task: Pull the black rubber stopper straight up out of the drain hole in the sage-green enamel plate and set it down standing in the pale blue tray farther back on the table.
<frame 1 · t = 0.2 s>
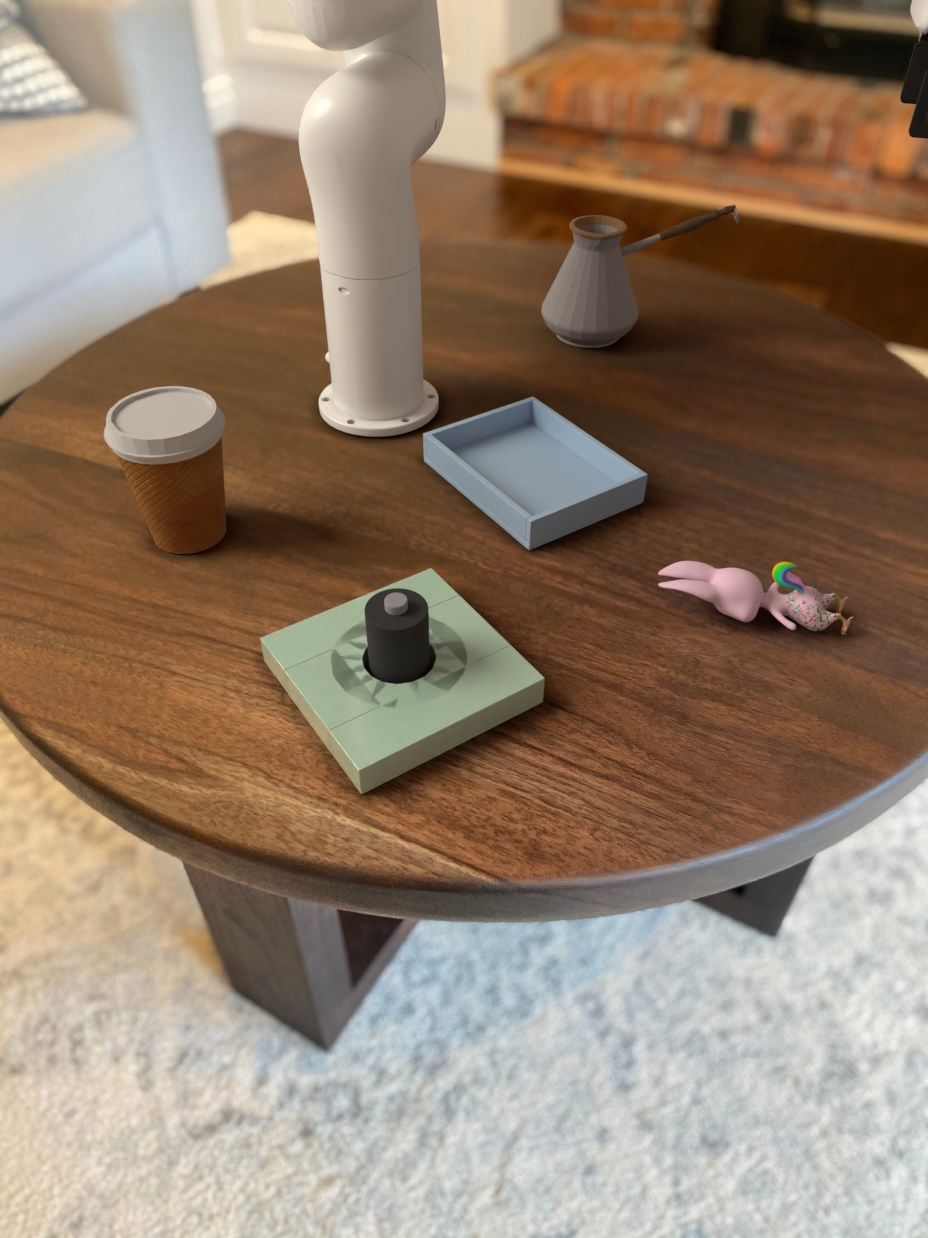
hand: (925, 119, 70), 31 cm above the table, tool pointing down, fingers open, 9 cm apart
plug: (398, 642, 67), in the hole of the drain plate
rabbit figure: (747, 616, 75), on the table
tray: (530, 481, 89), on the table
disposable coffee cup: (190, 534, 83), on the table
drain plate: (400, 681, 69), on the table
coffee pot: (628, 335, 113), on the table
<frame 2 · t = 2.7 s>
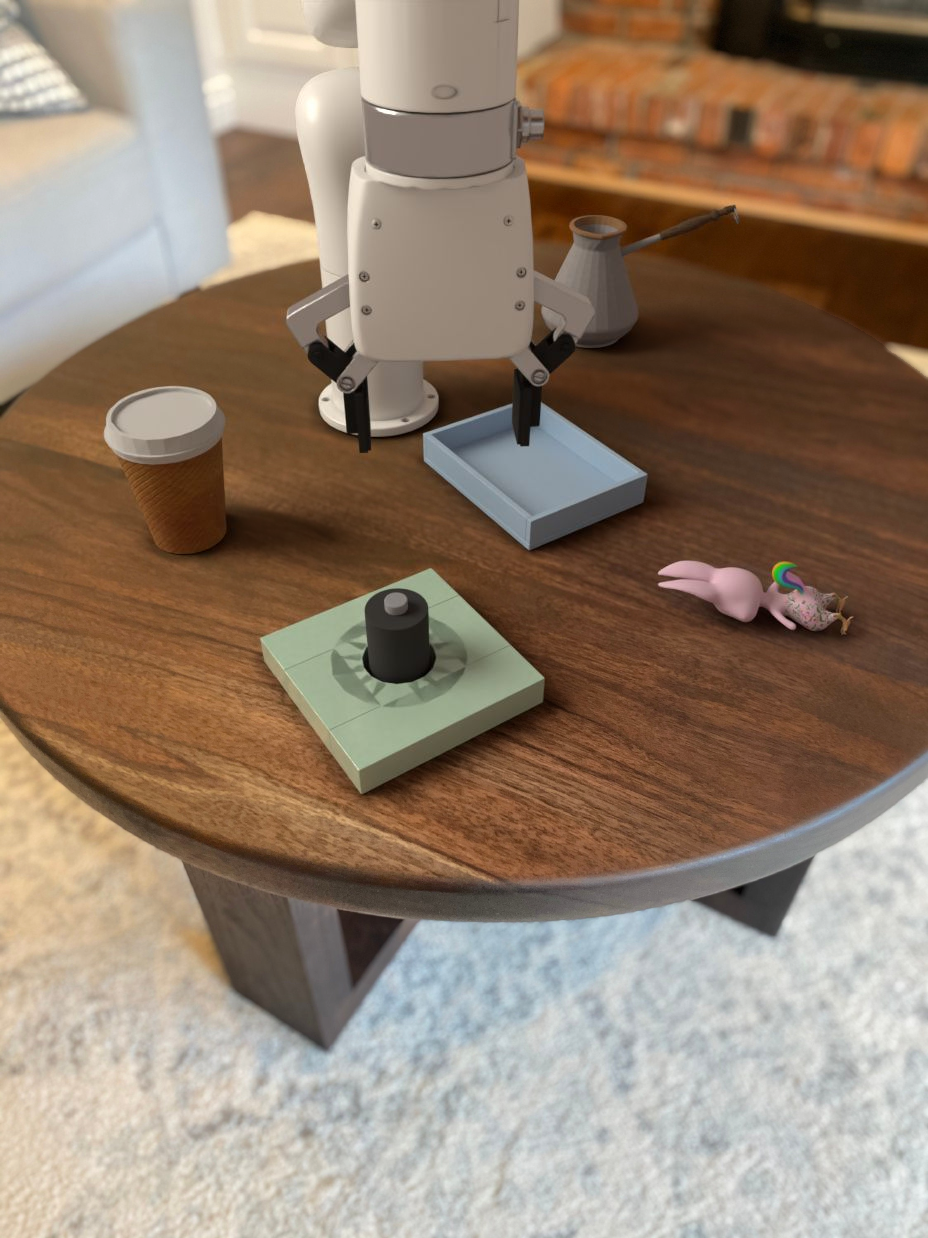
hand: (443, 438, 58), 19 cm above the table, tool pointing down, fingers open, 9 cm apart
nothing on the table moved.
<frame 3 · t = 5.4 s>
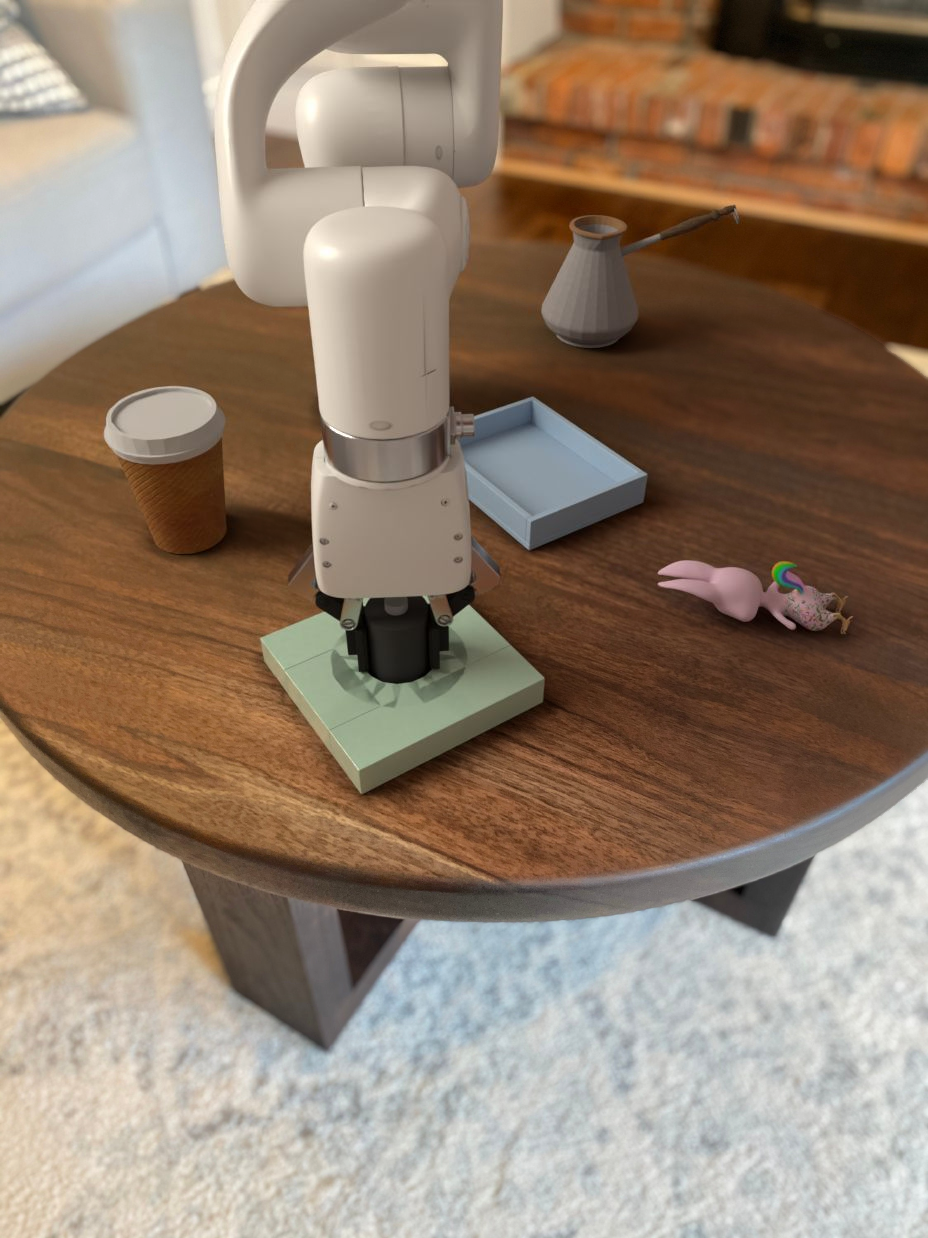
hand: (399, 654, 68), 3 cm above the table, tool pointing down, fingers closed on plug, 4 cm apart
plug: (398, 642, 67), in the hole of the drain plate, touching gripper
everything else where it was.
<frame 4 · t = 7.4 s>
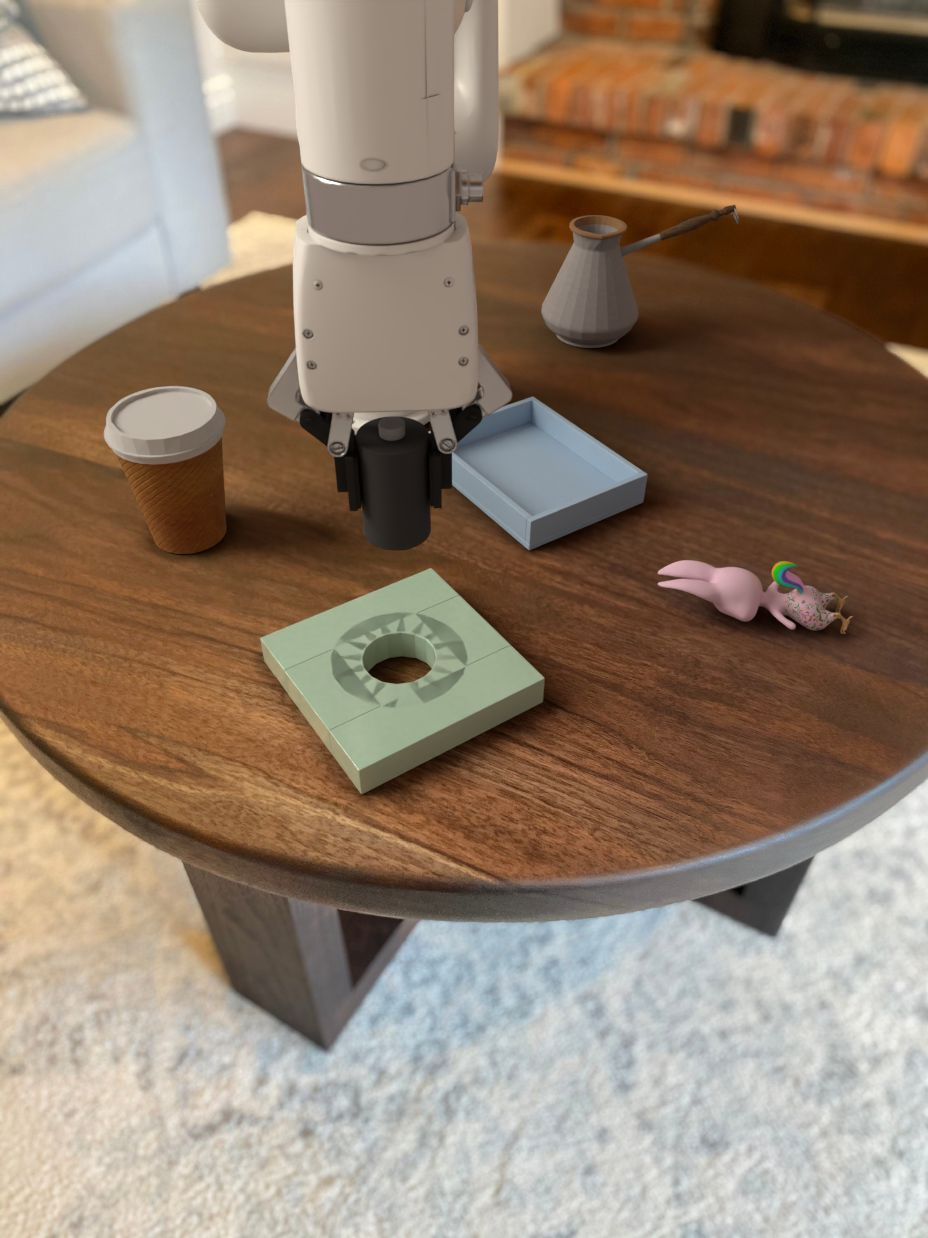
hand: (395, 494, 60), 16 cm above the table, tool pointing down, fingers closed on plug, 4 cm apart
plug: (394, 478, 59), point 17 cm above the table, touching gripper
everything else where it was.
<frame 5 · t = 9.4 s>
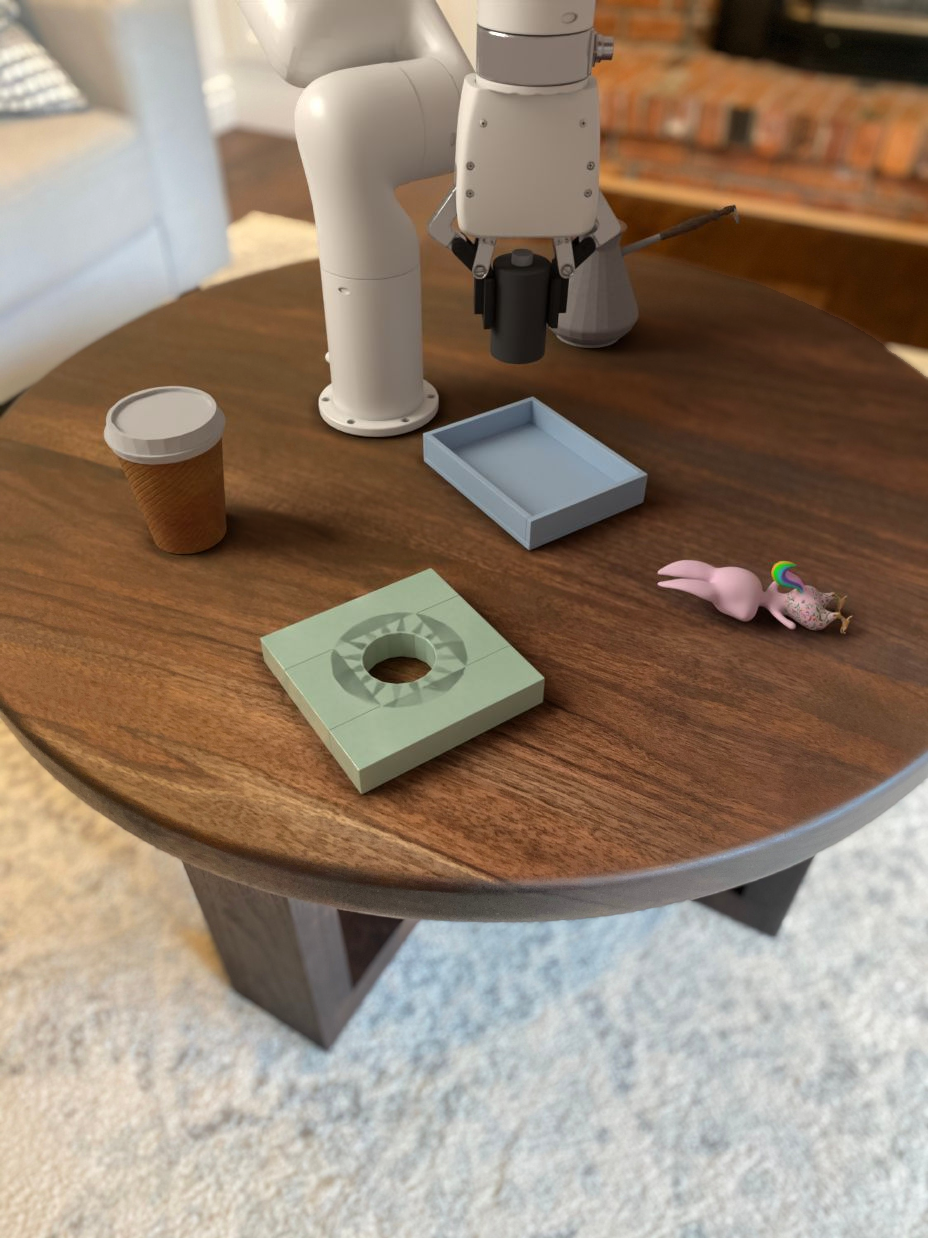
hand: (518, 319, 74), 18 cm above the table, tool pointing down, fingers closed on plug, 4 cm apart
plug: (519, 303, 73), point 19 cm above the table, touching gripper
everything else where it was.
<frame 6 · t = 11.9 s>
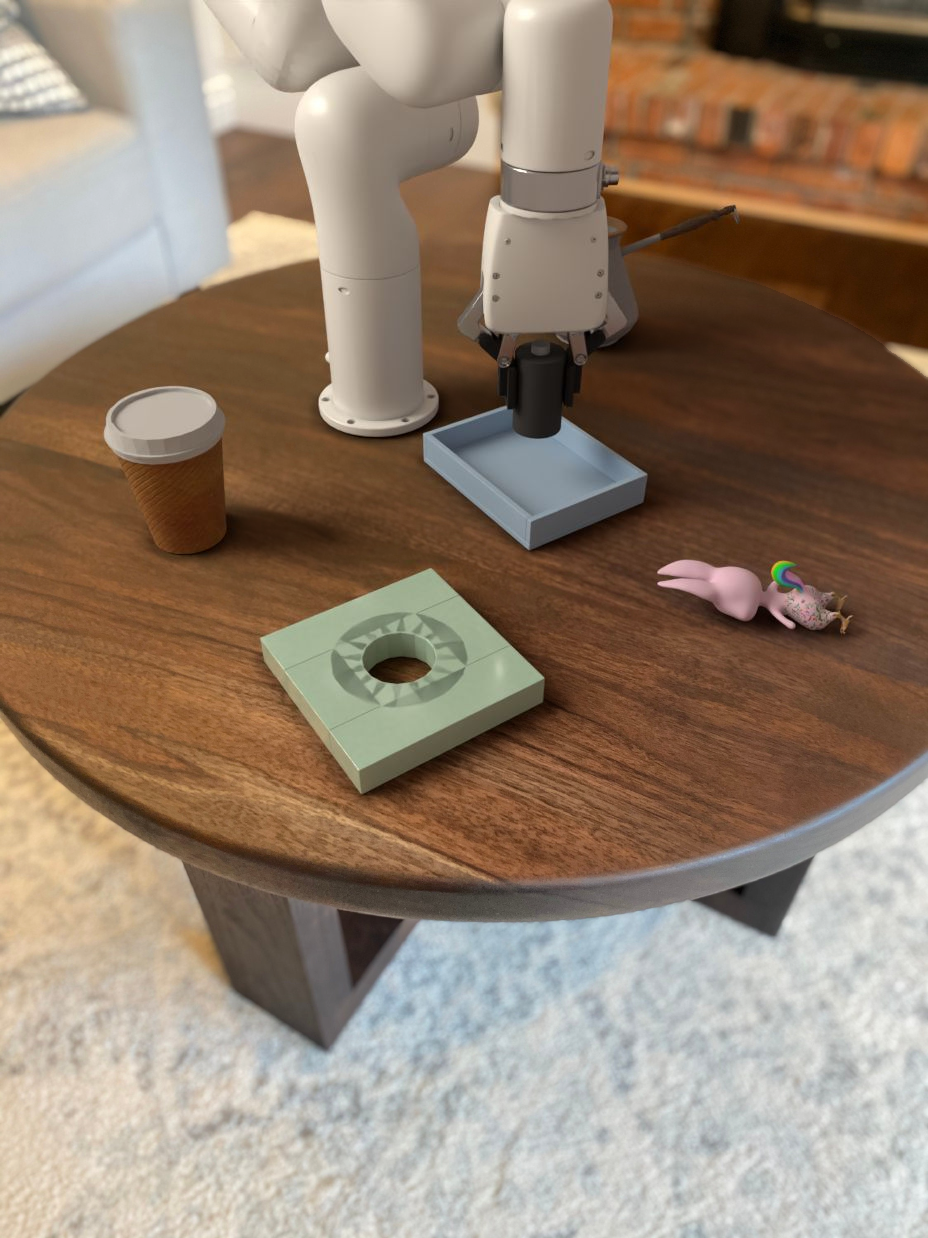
hand: (537, 399, 83), 9 cm above the table, tool pointing down, fingers closed on plug, 4 cm apart
plug: (538, 386, 82), point 10 cm above the table, touching gripper
everything else where it was.
when the fingers open (3 cm above the table, at t = 13.7 s): plug stays where it is, resting on tray.
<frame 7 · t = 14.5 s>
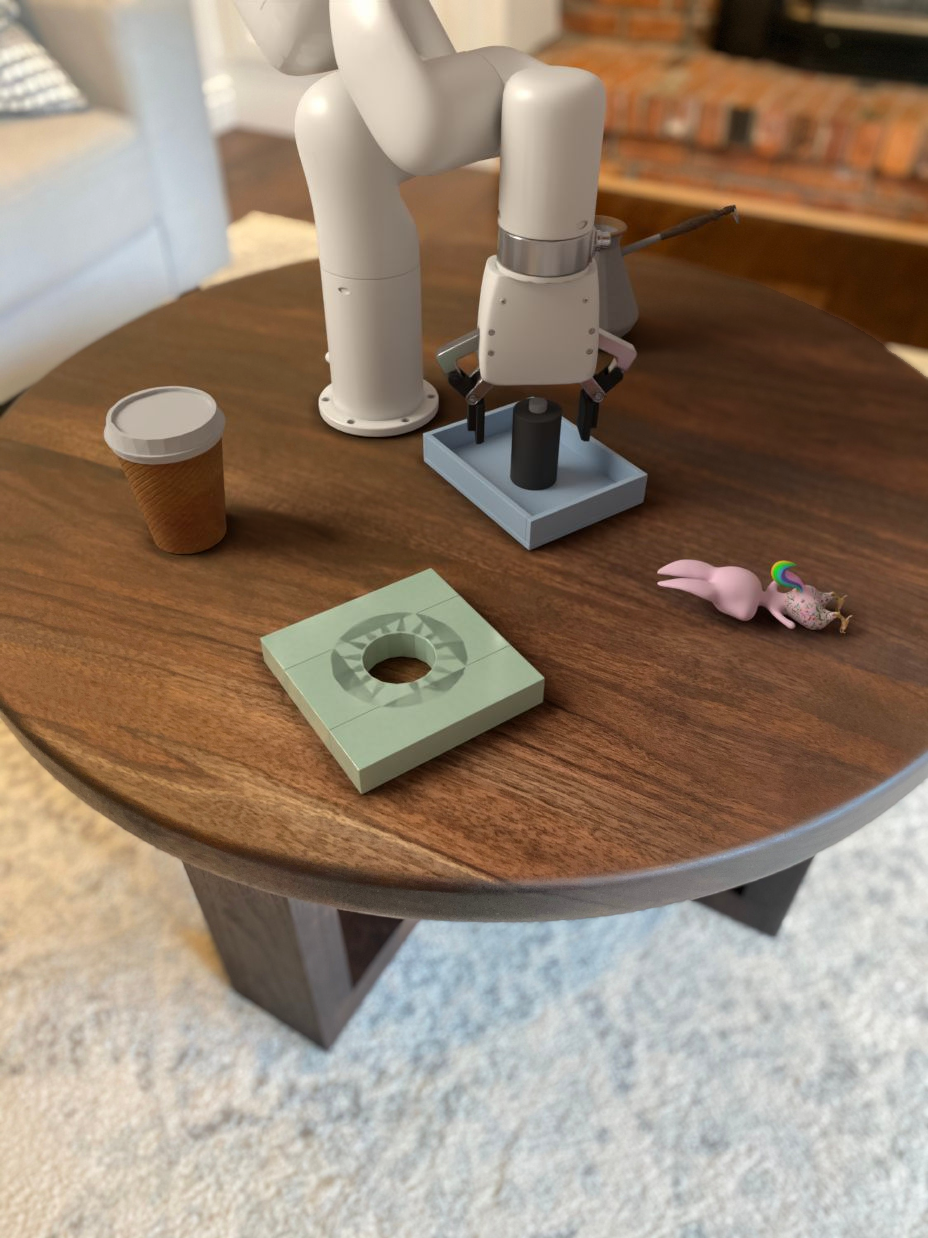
hand: (530, 434, 86), 5 cm above the table, tool pointing down, fingers open, 9 cm apart
plug: (535, 440, 86), in the tray, point 5 cm above the table
everything else where it was.
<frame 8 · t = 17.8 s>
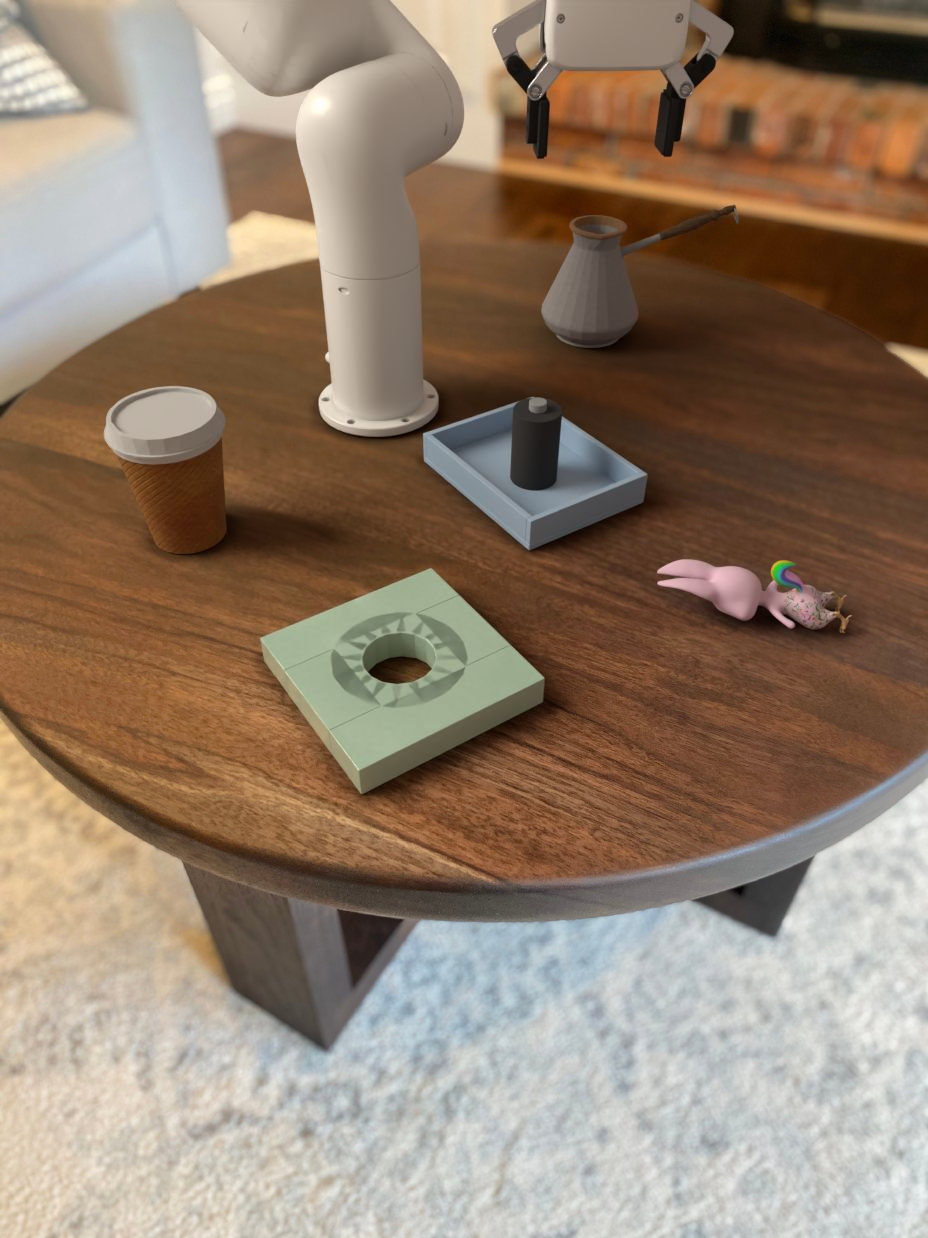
hand: (601, 152, 73), 28 cm above the table, tool pointing down, fingers open, 9 cm apart
nothing on the table moved.
at the end: plug inside the target area in the tray (0.4 cm from its centre), point 4.6 cm above the tray's base; the gripper is holding nothing; plug moved 28.7 cm from its start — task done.
